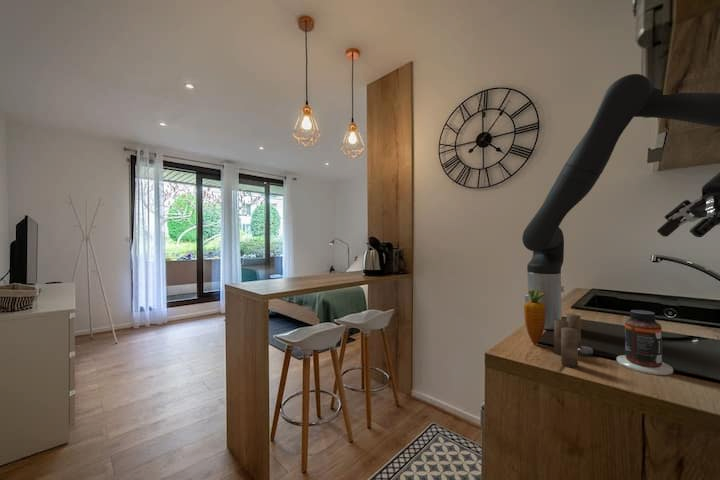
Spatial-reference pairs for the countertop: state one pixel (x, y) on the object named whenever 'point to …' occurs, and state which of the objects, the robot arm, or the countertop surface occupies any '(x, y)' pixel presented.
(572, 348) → the post
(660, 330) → the supplement bottle
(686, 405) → the countertop surface
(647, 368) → the coaster
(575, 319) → the post
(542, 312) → the carrot
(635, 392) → the countertop surface
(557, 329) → the post
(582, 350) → the nut
